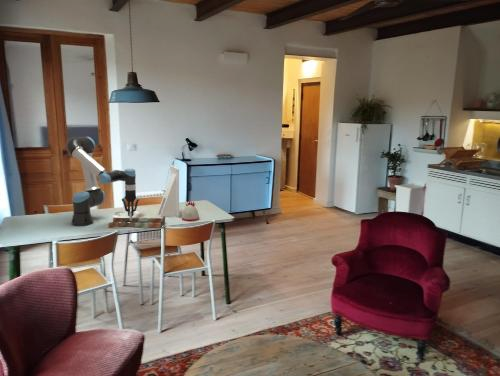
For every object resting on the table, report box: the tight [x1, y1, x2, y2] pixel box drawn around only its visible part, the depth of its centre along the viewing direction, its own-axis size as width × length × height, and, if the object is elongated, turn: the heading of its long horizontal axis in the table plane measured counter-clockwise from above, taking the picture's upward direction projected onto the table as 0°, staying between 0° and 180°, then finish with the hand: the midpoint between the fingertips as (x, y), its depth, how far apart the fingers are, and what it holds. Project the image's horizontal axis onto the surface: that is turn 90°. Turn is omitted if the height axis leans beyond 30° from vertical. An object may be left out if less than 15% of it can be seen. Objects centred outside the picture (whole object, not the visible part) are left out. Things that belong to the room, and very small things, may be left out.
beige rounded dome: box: [181, 200, 200, 222], centre depth 327 cm, size 14×14×15 cm
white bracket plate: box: [156, 165, 180, 218], centre depth 334 cm, size 20×14×40 cm
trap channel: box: [107, 216, 166, 229], centre depth 307 cm, size 39×14×5 cm, turn 94°
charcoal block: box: [138, 219, 149, 223], centre depth 308 cm, size 7×7×4 cm
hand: (130, 220), depth 307 cm, fingers closed
